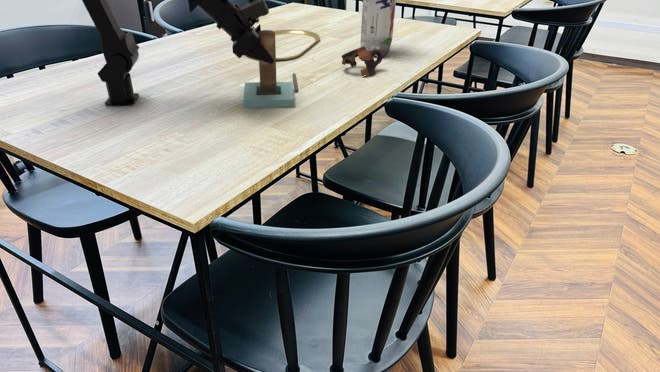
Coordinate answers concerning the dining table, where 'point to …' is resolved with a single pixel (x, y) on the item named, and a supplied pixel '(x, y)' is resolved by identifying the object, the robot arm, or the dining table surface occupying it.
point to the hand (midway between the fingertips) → (273, 59)
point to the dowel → (267, 69)
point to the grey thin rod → (295, 82)
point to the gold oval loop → (293, 31)
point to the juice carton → (377, 24)
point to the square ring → (268, 96)
